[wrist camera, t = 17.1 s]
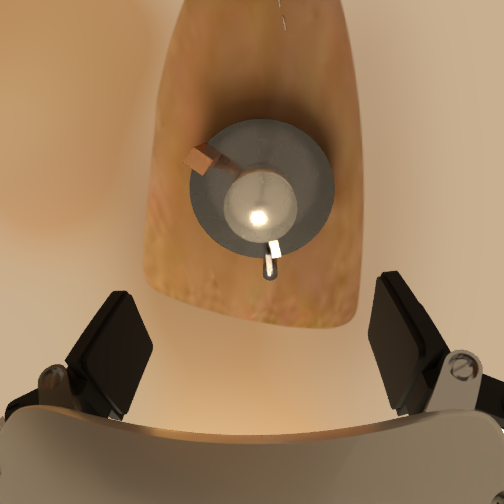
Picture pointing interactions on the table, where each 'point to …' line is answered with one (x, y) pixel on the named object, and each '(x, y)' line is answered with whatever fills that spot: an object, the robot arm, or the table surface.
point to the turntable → (254, 151)
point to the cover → (260, 203)
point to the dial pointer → (269, 267)
